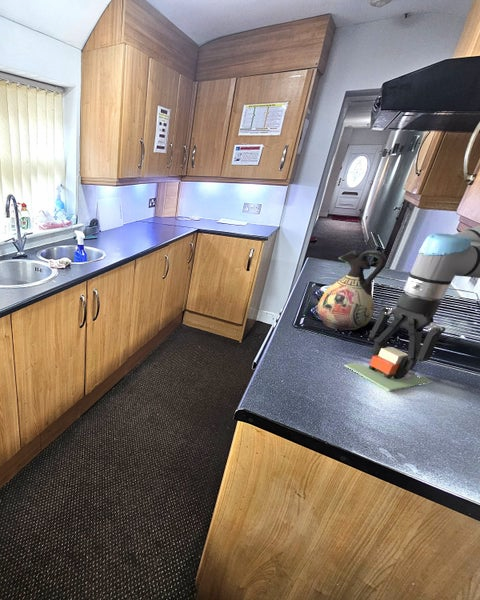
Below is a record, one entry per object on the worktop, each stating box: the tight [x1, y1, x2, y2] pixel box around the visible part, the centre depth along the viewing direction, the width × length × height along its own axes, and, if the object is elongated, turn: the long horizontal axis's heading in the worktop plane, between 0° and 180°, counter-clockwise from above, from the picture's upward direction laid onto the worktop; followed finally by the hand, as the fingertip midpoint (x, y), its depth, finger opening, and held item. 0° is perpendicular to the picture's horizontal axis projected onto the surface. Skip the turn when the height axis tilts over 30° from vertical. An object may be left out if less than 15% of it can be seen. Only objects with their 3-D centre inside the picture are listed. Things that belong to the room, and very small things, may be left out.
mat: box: [343, 362, 433, 392], centre depth 92 cm, size 16×12×1 cm
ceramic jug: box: [317, 249, 387, 331], centre depth 112 cm, size 17×15×30 cm
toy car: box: [368, 346, 411, 379], centre depth 91 cm, size 8×5×7 cm, turn 104°
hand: (385, 370), depth 92 cm, fingers open, 6 cm apart
